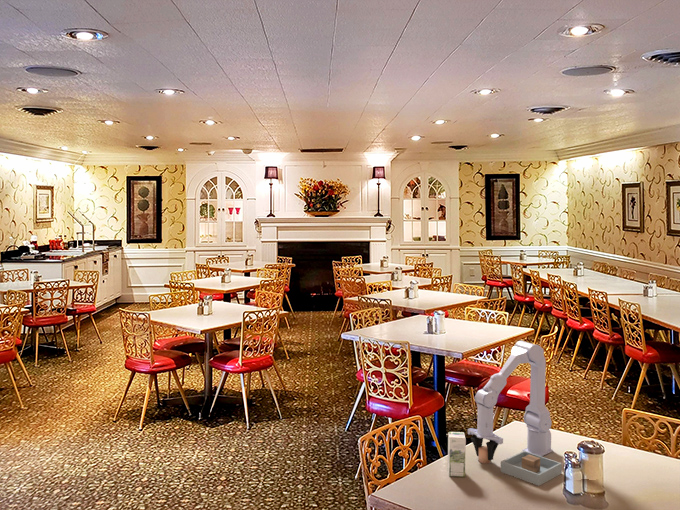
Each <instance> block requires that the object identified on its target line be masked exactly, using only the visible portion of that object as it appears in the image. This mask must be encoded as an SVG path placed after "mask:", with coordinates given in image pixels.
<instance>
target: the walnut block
mask: <svg viewBox="0 0 680 510" xmlns="http://www.w3.org/2000/svg"><path fill="white" fill-rule="evenodd" d="M522 468H523V469H526V470H528V471H531V472H534V473H537V472H539V471H540V458H538V457H535V456H532V455H527V456H525V457H522Z"/></svg>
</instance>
